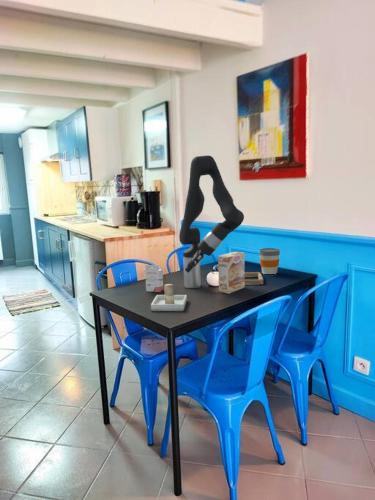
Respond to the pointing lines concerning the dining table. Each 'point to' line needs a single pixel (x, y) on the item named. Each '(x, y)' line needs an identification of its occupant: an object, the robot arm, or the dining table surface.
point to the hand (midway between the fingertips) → (187, 268)
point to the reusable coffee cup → (269, 260)
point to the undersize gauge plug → (169, 293)
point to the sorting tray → (160, 304)
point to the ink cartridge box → (153, 278)
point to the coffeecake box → (231, 272)
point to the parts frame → (253, 282)
